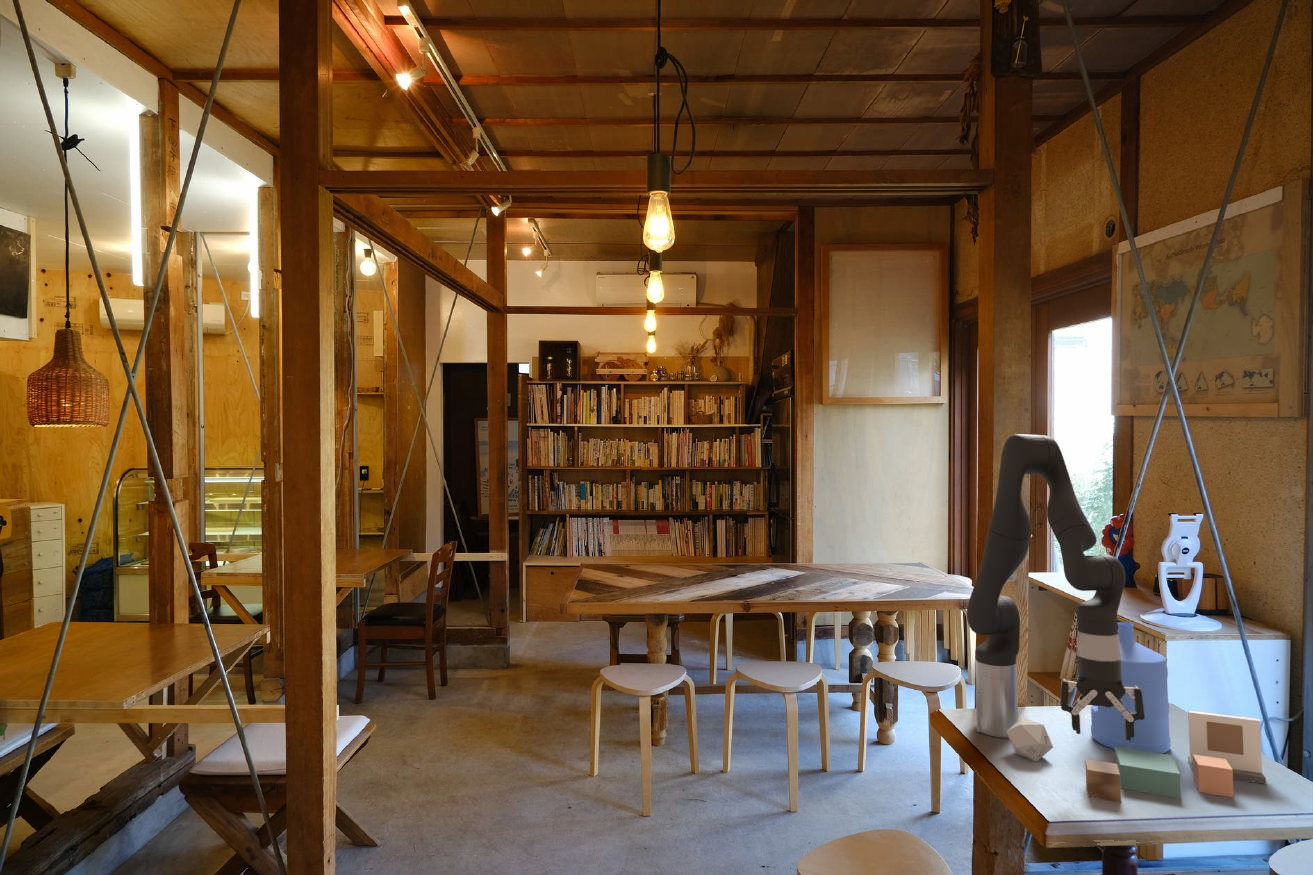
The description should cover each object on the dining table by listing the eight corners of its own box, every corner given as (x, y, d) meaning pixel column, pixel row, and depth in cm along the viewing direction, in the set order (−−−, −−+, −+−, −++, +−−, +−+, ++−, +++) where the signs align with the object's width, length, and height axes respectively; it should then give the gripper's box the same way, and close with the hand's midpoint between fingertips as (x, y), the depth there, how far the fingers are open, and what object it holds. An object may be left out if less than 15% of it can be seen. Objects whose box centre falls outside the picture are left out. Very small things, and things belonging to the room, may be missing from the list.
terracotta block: (1199, 792, 143) (1198, 764, 143) (1193, 780, 148) (1192, 754, 148) (1233, 797, 141) (1232, 769, 141) (1226, 785, 146) (1225, 758, 146)
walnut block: (1088, 797, 142) (1087, 769, 142) (1086, 785, 147) (1085, 758, 147) (1121, 803, 139) (1120, 774, 140) (1117, 791, 144) (1116, 763, 144)
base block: (1121, 789, 145) (1120, 764, 146) (1115, 769, 154) (1114, 746, 154) (1181, 799, 141) (1180, 773, 141) (1171, 778, 150) (1171, 754, 150)
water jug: (1186, 749, 163) (1181, 627, 164) (1140, 761, 158) (1135, 634, 158) (1120, 726, 178) (1116, 613, 179) (1076, 736, 172) (1072, 620, 173)
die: (1017, 766, 158) (1046, 736, 155) (992, 734, 165) (1019, 705, 162) (1039, 772, 161) (1068, 743, 158) (1014, 741, 168) (1040, 712, 166)
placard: (1193, 772, 152) (1191, 715, 152) (1188, 761, 157) (1186, 707, 157) (1265, 783, 146) (1263, 724, 146) (1257, 772, 151) (1255, 715, 152)
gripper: (1138, 653, 144) (1142, 734, 143) (1057, 646, 151) (1061, 724, 150) (1143, 662, 137) (1148, 748, 137) (1059, 655, 144) (1062, 736, 143)
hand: (1102, 735), depth 143 cm, fingers open, 8 cm apart
